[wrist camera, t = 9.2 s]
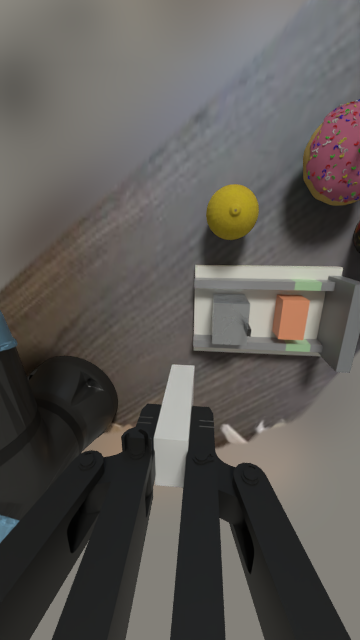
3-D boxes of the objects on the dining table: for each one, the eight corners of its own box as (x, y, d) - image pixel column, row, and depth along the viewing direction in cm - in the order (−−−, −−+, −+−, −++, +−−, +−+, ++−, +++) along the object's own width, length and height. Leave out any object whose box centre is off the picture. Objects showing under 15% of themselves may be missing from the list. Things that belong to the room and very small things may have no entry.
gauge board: (194, 347, 37) (191, 371, 31) (195, 264, 34) (192, 272, 27) (321, 352, 36) (347, 380, 29) (338, 266, 32) (373, 275, 25)
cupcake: (290, 131, 28) (345, 61, 17) (374, 114, 27) (495, 26, 15) (291, 214, 31) (340, 202, 19) (367, 202, 29) (468, 181, 18)
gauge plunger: (211, 329, 35) (212, 352, 28) (213, 293, 33) (214, 309, 26) (241, 330, 34) (249, 354, 27) (244, 294, 33) (254, 310, 26)
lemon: (198, 225, 32) (195, 222, 24) (222, 181, 30) (227, 164, 23) (235, 247, 32) (243, 251, 25) (261, 206, 31) (278, 197, 23)
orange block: (272, 330, 34) (278, 339, 31) (276, 294, 33) (283, 300, 30) (295, 331, 34) (303, 340, 31) (301, 294, 32) (309, 300, 29)
